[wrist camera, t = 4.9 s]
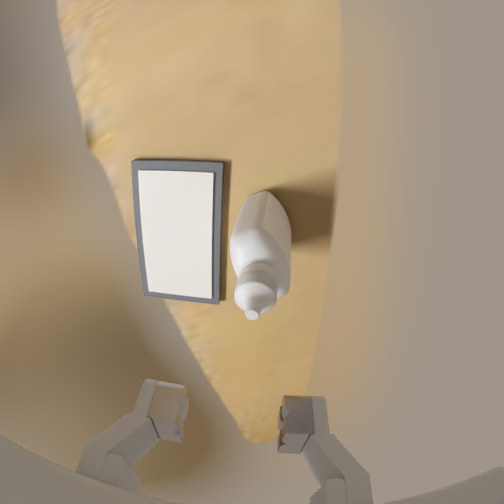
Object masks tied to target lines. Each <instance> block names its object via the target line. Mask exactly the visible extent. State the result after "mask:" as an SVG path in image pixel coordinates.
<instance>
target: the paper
mask: <svg viewBox="0 0 504 504" xmlns="http://www.w3.org/2000/svg"><path fill="white" fill-rule="evenodd" d="M138 180H139V199H140V214H141V227H142V238H143V248H144V257H145V266H146V274H147V282H148V289H149V291H150V292H158V293H166V294H174V295H183V296H191V297H200V298H209V299H212V221H213V182H214V172H198V171H171V170H138Z"/></svg>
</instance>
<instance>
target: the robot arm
mask: <svg viewBox="0 0 504 504" xmlns="http://www.w3.org/2000/svg"><path fill="white" fill-rule="evenodd" d="M186 392H187V389H186V386H184V385H178V384H172V383H166V382H161V381H157V380H151V379H146V380H145V381H144V383H143V386H142V388H141V391H140V394H139V397H138V400H137V402H136V405H135V408H134V411H133V413H128V414H127V415H125V416H124V417H122V418H121V419H120V420H118V421H117V422H116V423H114V424H113V425H111V426H110V427H109V428H107V429H106V430H105V431H103V432H102V433H100V434H99V435H98V436H96V437H95V438H93V439H92V440H90V441H89V442H88V443H86V445H85V448H84V451H83V453H82V456H81V459H80V461H79V464H78V467H77V469H76V472H75V471H72V470H70V469H68V468H65V467H63V466H61V465H59V464H56V463H54V462H52V461H50V460H48V459H46V458H44V457H42V456H40V455H38V454H36V453H34V452H32V451H30V450H29V449H27V448H25V447H23V446H21V445H20V444H18V443H16V442H14V441H13V440H11V439H9V438H8V437H6V436H4V435H3V434H1V433H0V504H183V503H177V502H172V501H168V500H163V499H159V498H155V497H150V496H146V495H142V494H139V493H137V492H138V487H139V484H140V478H139V477H138V475H137V474H136V473H135V472H134V471H133V469H132V468H131V467H132V466H133V465H134V464H135V463H136V462H137V461H138V460H139V459H140V458H142V457H143V456H144V455H145V454H146V453H147V452H148V451H149V450H150V449H151V448H152V447H153V446H154V445H155V444H156V443H157V442H158V441H159V439H162V440H168V441H173V442H180V443H181V441H182V436H183V431H184V425H183V421H184V420H186V418H187V414H188V406H189V404H188V397H187V396H186ZM278 429H279V430H280V433H279V436H278V453H293V454H300V456H301V457H302V459H303V461H304V462H305V464H306V465H307V466H308V468H309V469H310V471H311V472H312V474H313V475H314V477H315V478H316V480H317V481H318V483H319V484H320V485H321V488H320V489H319V490H318V491H317V492H316V493H314V495H312V496H311V497H310V504H373V500H372V492H371V484H370V476H369V474H368V473H367V471H366V470H365V469H364V468H363V467H362V466H361V465H360V464H359V463H358V462H357V460H356V459H355V458H354V457H353V456H352V455H351V454H350V453H349V451H348V450H347V449H346V448H345V447H344V446H343V445H342V443H341V442H340V441H339V440H338V439H337V438H336V436H335V435H334V434H329V424H328V416H327V407H326V399H325V398H324V396H287V395H284V396H283V399H282V406H280V410H279V415H278ZM382 504H504V468H503V467H496V468H493V469H491V470H489V471H486V472H484V473H482V474H479V475H477V476H474V477H472V478H469V479H467V480H464V481H461V482H459V483H456V484H453V485H450V486H447V487H444V488H441V489H438V490H435V491H431V492H428V493H424V494H421V495H417V496H413V497H409V498H405V499H401V500H396V501H392V502H387V503H382Z"/></svg>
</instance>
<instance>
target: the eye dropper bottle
mask: <svg viewBox="0 0 504 504" xmlns="http://www.w3.org/2000/svg"><path fill="white" fill-rule="evenodd" d="M230 253H231V260H232V264H233V267H234V270H235V273H236V275H237V277H238V281H237V285H236V289H235V292H234V299H235V301H236V304H237V305H238V306H239V307H240V308H241V309H242V310H244V311H245V314H246V317H247V318H248V319H250V320H255V319H257V318H258V317H259V315H260V314H262V313H266V312H268V311H269V310H271V309H272V308H273V307H274V306H275V303H276V300H277V298H280V297H283V296H284V295H286V294H287V292H288V291H289V287H290V276H291V227H290V222H289V219H288V216H287V214H286V212H285V210H284V208H283V206H282V205H281V204H280V202H279V201H278V200H277V199H276V198H275V197H274V196H273V195H272V194H271V193H270V192H268V191H262V192H259V193H256V194H253V195H251V196H248V197H247V198H246V199H245V201H244V203H243V206H242V208H241V211H240V213H239V216H238V219H237V221H236V224H235V227H234V229H233V232H232V235H231V239H230Z"/></svg>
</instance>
